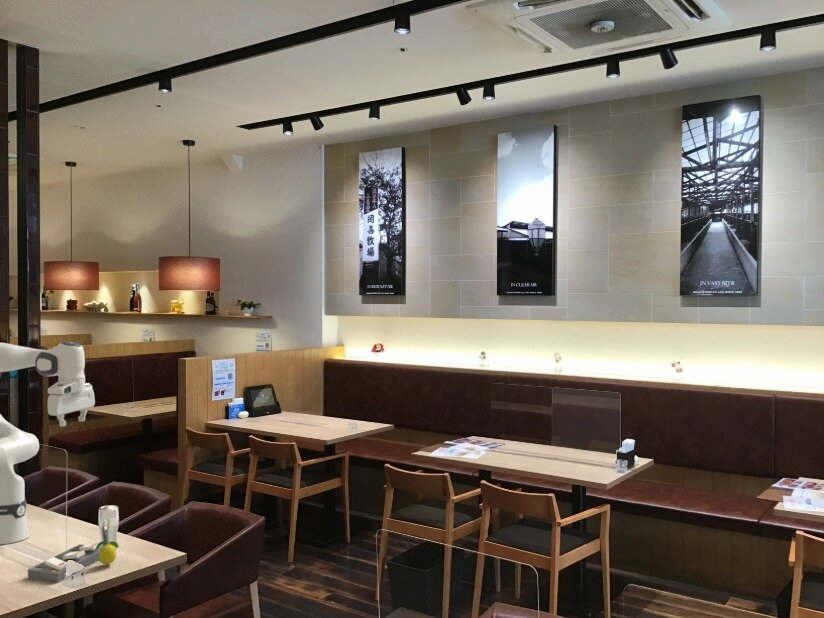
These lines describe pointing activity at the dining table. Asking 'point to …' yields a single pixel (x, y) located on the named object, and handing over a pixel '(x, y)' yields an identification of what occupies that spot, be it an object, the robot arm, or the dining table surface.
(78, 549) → the power strip
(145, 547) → the dining table surface
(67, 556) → the rocker
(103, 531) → the beer glass
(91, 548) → the rocker
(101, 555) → the lemon
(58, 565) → the rocker
